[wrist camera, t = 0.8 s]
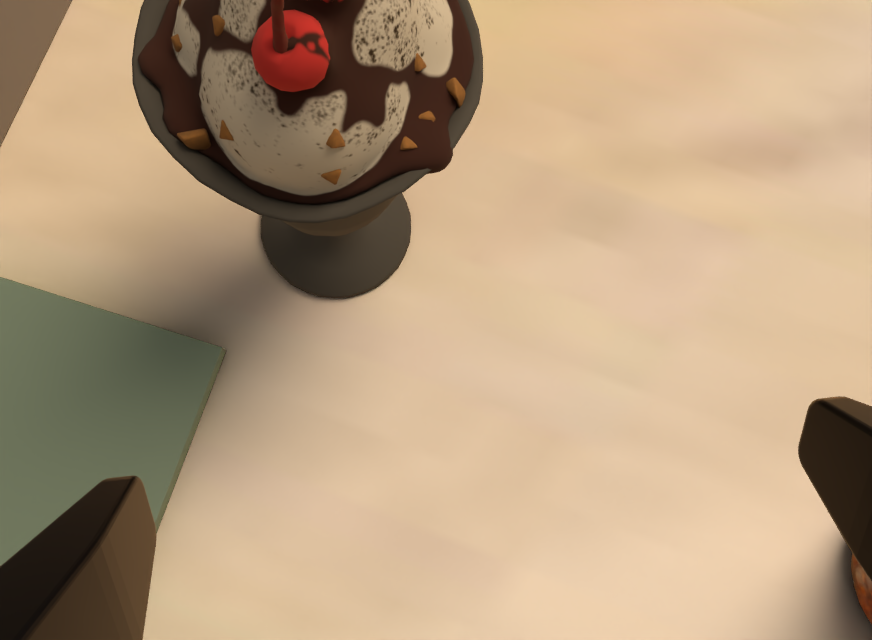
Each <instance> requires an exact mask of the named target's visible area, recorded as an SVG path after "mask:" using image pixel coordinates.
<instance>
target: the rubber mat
mask: <svg viewBox="0 0 872 640" xmlns="http://www.w3.org/2000/svg"><path fill="white" fill-rule="evenodd" d="M225 353H226V350H225V349H224V348H222V347H219V346H216V345H213V344H210V343H207V342H204V341H200V340H197V339H194V338H191V337H188V336H185V335H182V334H178V333H175V332H172V331H169V330H166V329H163V328H159V327H156V326H153V325H150V324H147V323H144V322H141V321H137V320H134V319H131V318H128V317H125V316H122V315H119V314H115V313H112V312H109V311H106V310H103V309H100V308H97V307H93V306H90V305H87V304H84V303H81V302H78V301H75V300H71V299H68V298H65V297H62V296H59V295H56V294H53V293H49V292H46V291H43V290H40V289H37V288H34V287H30V286H27V285H24V284H21V283H18V282H15V281H12V280H8V279H5V278H2V277H0V566H1V565H2V564H3V563H5V562H6V561H7V560H8V559H9V558H11V557H12V556H13V555H14V554H15V553H16V552H18V551H19V550H20V549H21V548H22V547H24V546H25V545H26V544H27V543H28V542H30V541H31V540H32V539H33V538H34V537H35V536H37V535H38V534H39V533H40V532H41V531H43V530H44V529H45V528H46V527H47V526H48V525H50V524H51V523H52V522H53V521H54V520H56V519H57V518H58V517H59V516H60V515H61V514H63V513H64V512H65V511H66V510H67V509H69V508H70V507H71V506H72V505H73V504H75V503H76V502H77V501H78V500H79V499H80V498H82V497H83V496H84V495H85V494H86V493H88V492H89V491H90V490H91V489H92V488H93V487H95V486H96V485H97V484H98V483H99V482H101V481H102V480H104V479H107V478H114V477H123V476H132V475H135V476H137V477H139V478H140V479H141V481H142V482H143V485H144V488H145V491H146V495H147V498H148V502H149V505H150V508H151V512H152V515H153V519H154V522H155V527H156V533H157V530H158V528H159V525H160V523H161V520H162V517H163V515H164V512H165V510H166V507H167V504H168V502H169V499H170V496H171V494H172V491H173V489H174V486H175V483H176V481H177V478H178V476H179V473H180V470H181V468H182V465H183V462H184V460H185V457H186V455H187V452H188V449H189V447H190V444H191V441H192V439H193V436H194V434H195V431H196V428H197V426H198V423H199V421H200V418H201V415H202V413H203V410H204V407H205V405H206V402H207V400H208V397H209V394H210V392H211V389H212V387H213V384H214V381H215V379H216V376H217V373H218V371H219V368H220V366H221V363H222V360H223V358H224V355H225Z"/></svg>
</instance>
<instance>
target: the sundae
mask: <svg viewBox="0 0 872 640" xmlns="http://www.w3.org/2000/svg"><path fill="white" fill-rule="evenodd" d="M132 72H133V86H134V89H135V92H136V96H137V99H138V103H139V106H140V108H141V110H142V112H143V114H144V117H145V119H146V121H147V123H148V125H149V127H150V130H151V132H152V133H153V134H154V135H155V137H156V138H157V139H158V140H159V141H160V143H161V144H162V145H163V146H164V147H165V148H166V150H167V151H168V152H169V153H170V154H171V155H172V157H173V158H174V159H175V160H176V161H178V162H179V163H180V164H181V165H182V166H183V167H184V168H185V169H186V170H187V171H188V172H189V173H190V174H191V175H193V176H194V177H195V178H196V179H197V180H198V181H199V182H201V183H202V184H204V185H206V186H207V187H209V188H211V189H212V190H214V191H216V192H217V193H219V194H221V195H222V196H224V197H226V198H227V199H229V200H231V201H232V202H235V203H237V204H239V205H241V206H243V207H245V208H247V209H249V210H251V211H253V212H255V213H257V214H259V215H262V219H261V238H262V241H263V245H264V248H265V251H266V253H267V255H268V258H269V260H270V262H271V264H272V265H273V266H274V267H275V269H276V270H277V271H278V272H279V273H280V275H282V276H283V277H284V278H285V279H286V280H287V281H288V282H289V283H290V284H292V285H293V286H295V287H297V288H299V289H301V290H303V291H305V292H308V293H311V294H313V295H316V296H320V297H331V298H344V297H352V296H355V295H358V294H362V293H364V292H367V291H369V290H371V289H374V288H376V287H378V286H379V285H380V284H381V283H383V282H384V281H385V280H386V279H388V278H389V277H390V276H391V275H392V274H393V273H394V271H395V270H396V269H397V268H398V267H399V265H400V263H401V262H402V260H403V258H404V256H405V254H406V251H407V248H408V246H409V243H410V235H411V216H410V212H409V209H408V206H407V203H406V200H405V198H404V196H403V194H402V192H404V191H406V190H407V189H408V188H409V187H411V186H412V185H413V184H414V183H416V182H417V181H418V180H419V179H421V178H422V177H423V176H424V175H426V174H429V173H436V172H440V171H441V170H443V169H445V168H446V167H447V165H448V164H449V163H450V161H451V158H452V156H453V148H454V147H455V146H456V144H457V143H458V141H459V139H460V138H461V136H462V135H463V133H464V131H465V130H466V128H467V127H468V125H469V123H470V121H471V119H472V117H473V115H474V113H475V110H476V108H477V106H478V104H479V100H480V94H481V88H482V83H483V55H482V48H481V41H480V34H479V29H478V26H477V23H476V20H475V17H474V15H473V12H472V9H471V6H470V3H469V1H468V0H144V2H143V5H142V7H141V10H140V15H139V19H138V24H137V28H136V33H135V39H134V48H133V57H132Z"/></svg>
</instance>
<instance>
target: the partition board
mask: <svg viewBox="0 0 872 640" xmlns="http://www.w3.org/2000/svg"><path fill="white" fill-rule="evenodd" d="M71 1H72V0H0V146H1V144H2V141H3V139H4V137H5V135H6V133H7V131H8V129H9V127H10V125H11V123H12V121H13V119H14V117H15V115H16V113H17V111H18V109H19V107H20V105H21V103H22V101H23V99H24V97H25V95H26V93H27V91H28V89H29V87H30V84H31V82H32V80H33V78H34V76H35V74H36V72H37V70H38V68H39V66H40V64H41V62H42V60H43V58H44V56H45V54H46V52H47V50H48V48H49V46H50V44H51V42H52V40H53V38H54V36H55V34H56V32H57V30H58V27H59V25H60V23H61V21H62V19H63V17H64V15H65V13H66V11H67V9H68V7H69V5H70V3H71Z"/></svg>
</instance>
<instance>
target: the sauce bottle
mask: <svg viewBox="0 0 872 640" xmlns="http://www.w3.org/2000/svg"><path fill="white" fill-rule="evenodd" d="M851 571H852V578H853V581H854V588H855V590H856V594H857V597H858V600H859V604H860V605H861V607H862V609H863V611H864V613H865V615H866V616H867V618H868V619H869V621H870V623H871V624H872V581H871V580H870V579H869V577H868V576H867V574H866V573H865V571H864V570H863V568H862V567H861V565H860V564H859V563H858V561H857V560H856V558H855V556H854V555H853V553H852V561H851Z"/></svg>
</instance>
